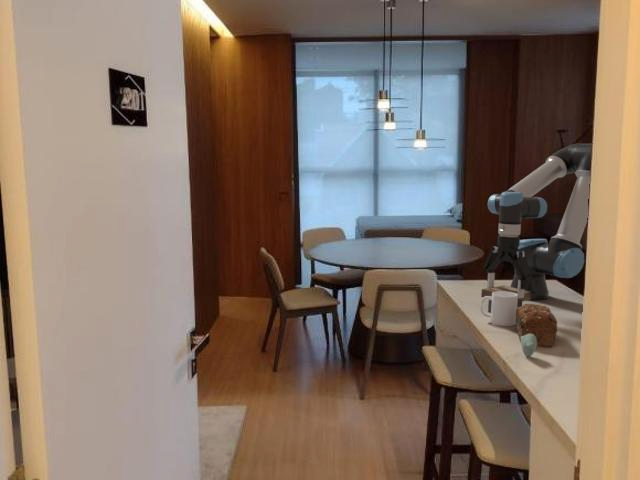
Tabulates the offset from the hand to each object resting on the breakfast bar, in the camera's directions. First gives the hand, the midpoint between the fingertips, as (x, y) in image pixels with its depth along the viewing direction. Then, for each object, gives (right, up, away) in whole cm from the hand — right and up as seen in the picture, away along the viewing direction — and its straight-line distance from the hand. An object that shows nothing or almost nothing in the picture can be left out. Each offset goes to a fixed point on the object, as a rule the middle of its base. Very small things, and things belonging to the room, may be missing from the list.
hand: (505, 294), depth 218 cm
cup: (-6, -9, -12) cm, 16 cm away
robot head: (-8, -14, -47) cm, 49 cm away
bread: (0, -11, -29) cm, 31 cm away
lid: (0, -2, 0) cm, 2 cm away
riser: (0, -7, +1) cm, 7 cm away
